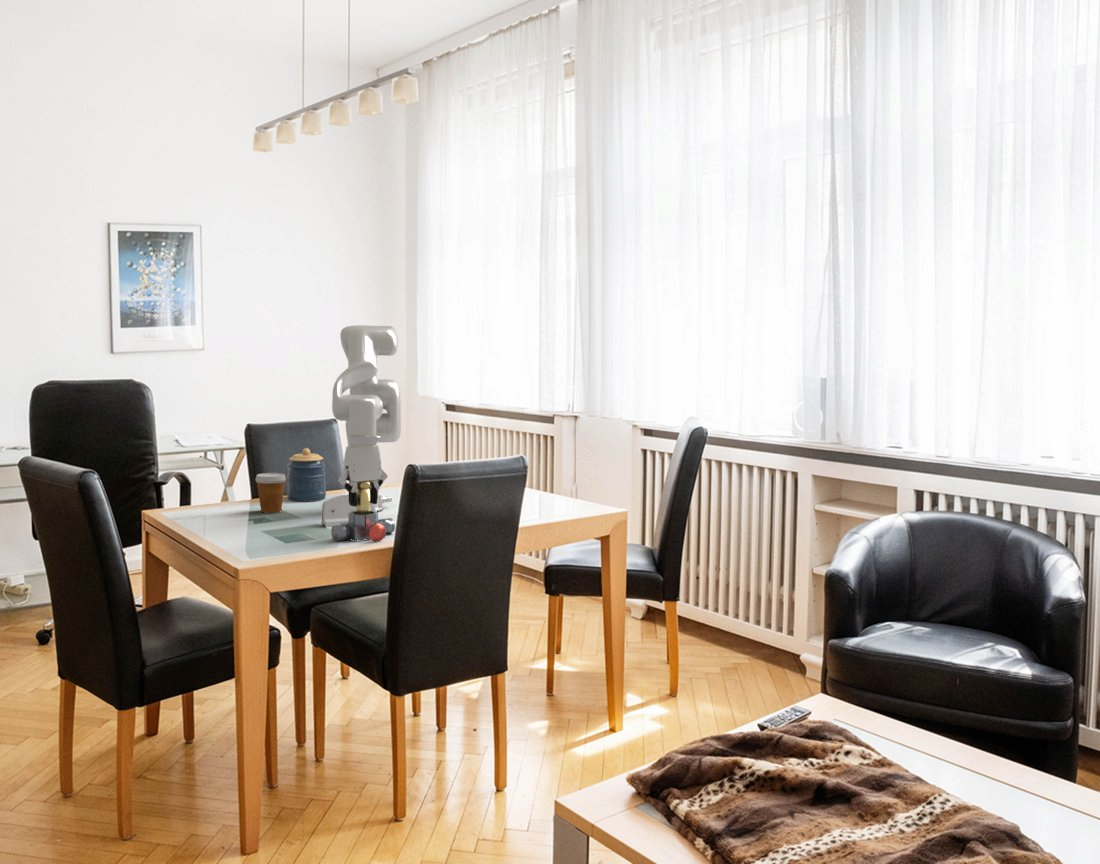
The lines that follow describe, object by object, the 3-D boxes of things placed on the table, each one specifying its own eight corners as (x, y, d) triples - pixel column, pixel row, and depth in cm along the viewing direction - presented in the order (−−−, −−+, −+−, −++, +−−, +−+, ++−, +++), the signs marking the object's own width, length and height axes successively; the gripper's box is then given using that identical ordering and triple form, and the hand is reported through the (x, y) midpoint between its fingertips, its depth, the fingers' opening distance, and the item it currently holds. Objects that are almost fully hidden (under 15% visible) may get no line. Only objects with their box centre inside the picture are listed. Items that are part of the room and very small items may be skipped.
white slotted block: (324, 528, 291) (321, 495, 293) (321, 530, 296) (318, 497, 298) (379, 523, 299) (376, 491, 301) (375, 526, 303) (372, 494, 305)
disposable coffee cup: (258, 515, 309) (257, 477, 308) (253, 510, 318) (253, 473, 317) (289, 513, 313) (288, 476, 312) (284, 508, 322) (283, 472, 321)
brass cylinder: (366, 521, 282) (365, 479, 281) (373, 523, 279) (373, 481, 278) (353, 522, 280) (353, 481, 278) (360, 525, 277) (360, 482, 275)
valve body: (383, 530, 289) (383, 507, 288) (405, 537, 280) (405, 513, 279) (328, 538, 277) (327, 514, 276) (349, 546, 268) (348, 520, 267)
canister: (333, 497, 344) (332, 447, 342) (313, 503, 332) (312, 451, 330) (300, 494, 348) (299, 445, 346) (279, 500, 336) (279, 449, 334)
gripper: (382, 438, 285) (382, 499, 287) (328, 441, 274) (329, 506, 276) (396, 440, 280) (396, 503, 282) (342, 444, 269) (342, 510, 271)
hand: (363, 504), depth 279 cm, fingers open, 5 cm apart
